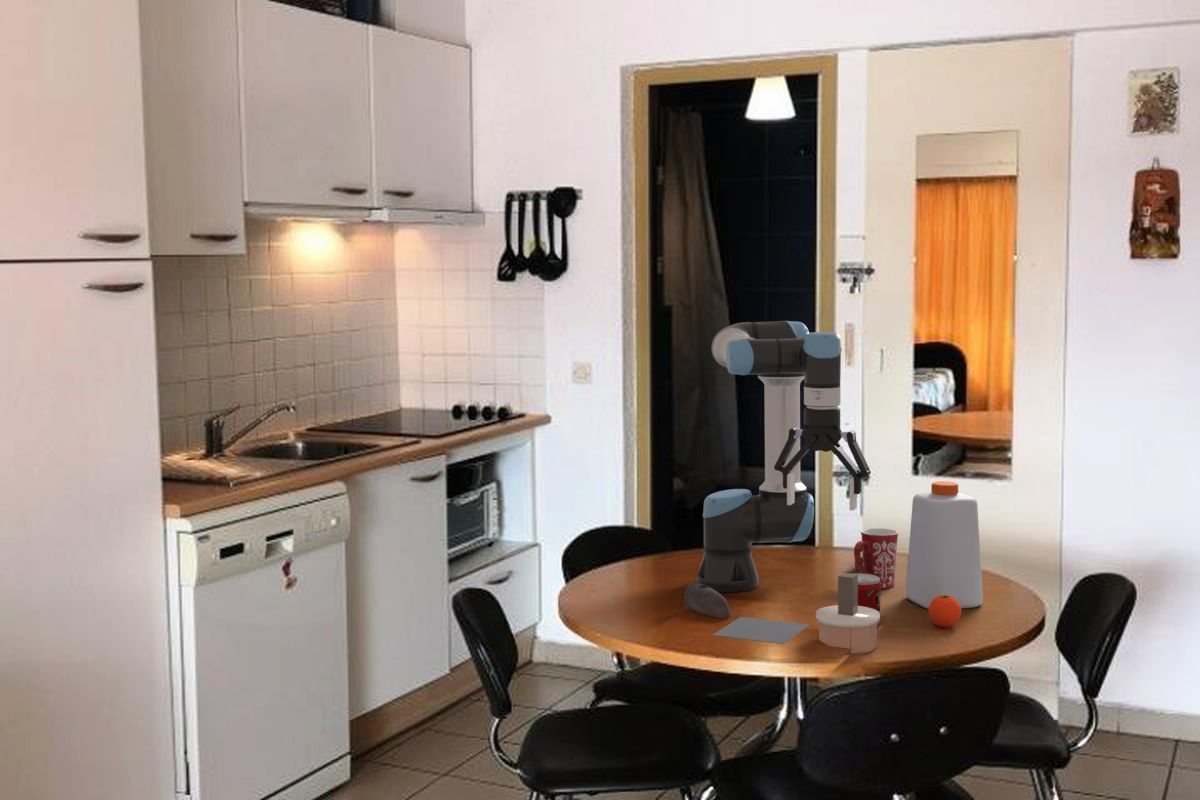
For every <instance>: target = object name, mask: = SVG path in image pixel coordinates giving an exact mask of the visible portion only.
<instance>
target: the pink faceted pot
mask: <svg viewBox="0 0 1200 800" xmlns="http://www.w3.org/2000/svg"><path fill="white" fill-rule="evenodd" d="M877 627H878V624H874V625H871V626H865V627H837V626H831V625H826V624H823V623H821V622H819V621H818V641H820V642H822V643H823V644H825V645H826V646H828V647H832V648H833V647H834V648H841V649H842V648H844V649H850V650H848V651H847V652H846V653H845V654H844V655H846V656H852V655H853V656H855V655H857V656H858V655H864V654H865V655H866V654H869V653H872V652H874V651H875V650H876V647H877V646H878V629H877Z"/></svg>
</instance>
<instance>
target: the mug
mask: <svg viewBox="0 0 1200 800" xmlns="http://www.w3.org/2000/svg"><path fill="white" fill-rule="evenodd" d="M860 534H861V540H860V541H857V542H856V544H855V545H854V548H853V557H854V562H855V561H856V564H857V566H858V571H860V574H870V575H875V576H877V577H879V578H880V590H882V589H883V588H887V589H892V588H894V587H893V586H895V580H896V566H897V551H898V550H897V549H898V536H899V531H898V530H895V529H892V528H884V527H883V528H882V527H878V528H877V527H876V528H875V527H873V528H872V527H871V528H869V527H868V528H865V529H861V530H860ZM861 547H862V552H860V551H861ZM861 553H862V557H863V563H862V561H861ZM891 587H892V588H891ZM883 590H884V589H883Z"/></svg>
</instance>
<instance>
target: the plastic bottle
mask: <svg viewBox="0 0 1200 800" xmlns="http://www.w3.org/2000/svg"><path fill="white" fill-rule="evenodd" d="M930 488H931V491H929V492H920V493H916V494H915V495H914V496H913V498H912V503H911V504H912V505H911V518H910V530H909V544H908V555H907V556H908V557H907V568H906V569H907V570H906V584H905V596H906V598H907V599H908V600H909V601H911V602H913V603H915V604H916V605H918V606H920V607H922V608H924V609H928V610H929V605H930V603H931V601H932V600H933V599H934V598H936V597H937V596H940V594H946V595H948V596H951V597H953V598H954V599H956V600H957V601H958V603H959V605H960V607H961V610H962V609H970V608H977V607H979V606H980V605H982V603H983V602H984V594H983V578H982V563H981V561H982V560H981V545H980V544H981V542H980V541H981V540H980V529H979V528H980V527H979V526H980V525H979V511H978V501H977V499H975V498H974V497H972V496H971V495H970V496H969V495H968V494H964V493H961V492H959V484H958V483H957V482H955V481H948V480H947V481H933V482H932V483H931V487H930Z"/></svg>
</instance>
